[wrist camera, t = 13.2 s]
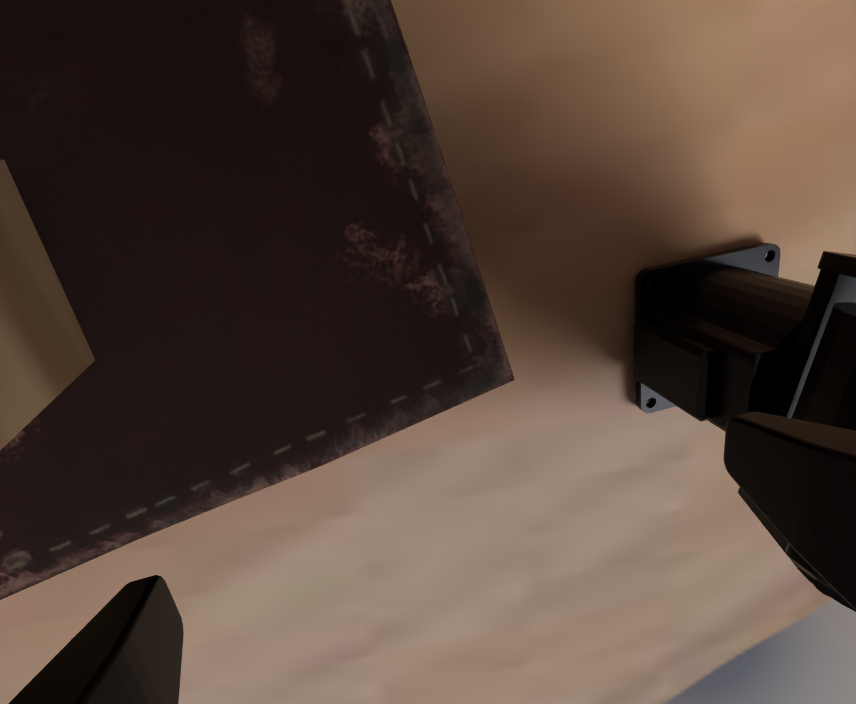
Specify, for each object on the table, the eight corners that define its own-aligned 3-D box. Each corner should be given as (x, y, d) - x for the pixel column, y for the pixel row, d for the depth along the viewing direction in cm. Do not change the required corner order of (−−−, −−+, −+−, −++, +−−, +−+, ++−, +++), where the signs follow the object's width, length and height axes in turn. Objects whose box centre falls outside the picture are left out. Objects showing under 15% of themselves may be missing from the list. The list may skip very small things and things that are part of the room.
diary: (-693, 96, 13) (-1257, 54, 8) (277, -218, 15) (266, -392, 10) (-129, 615, 20) (-260, 752, 15) (476, 353, 22) (524, 402, 17)
